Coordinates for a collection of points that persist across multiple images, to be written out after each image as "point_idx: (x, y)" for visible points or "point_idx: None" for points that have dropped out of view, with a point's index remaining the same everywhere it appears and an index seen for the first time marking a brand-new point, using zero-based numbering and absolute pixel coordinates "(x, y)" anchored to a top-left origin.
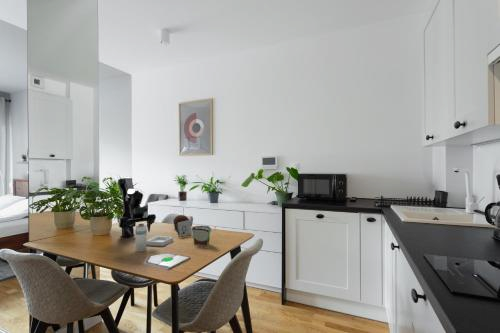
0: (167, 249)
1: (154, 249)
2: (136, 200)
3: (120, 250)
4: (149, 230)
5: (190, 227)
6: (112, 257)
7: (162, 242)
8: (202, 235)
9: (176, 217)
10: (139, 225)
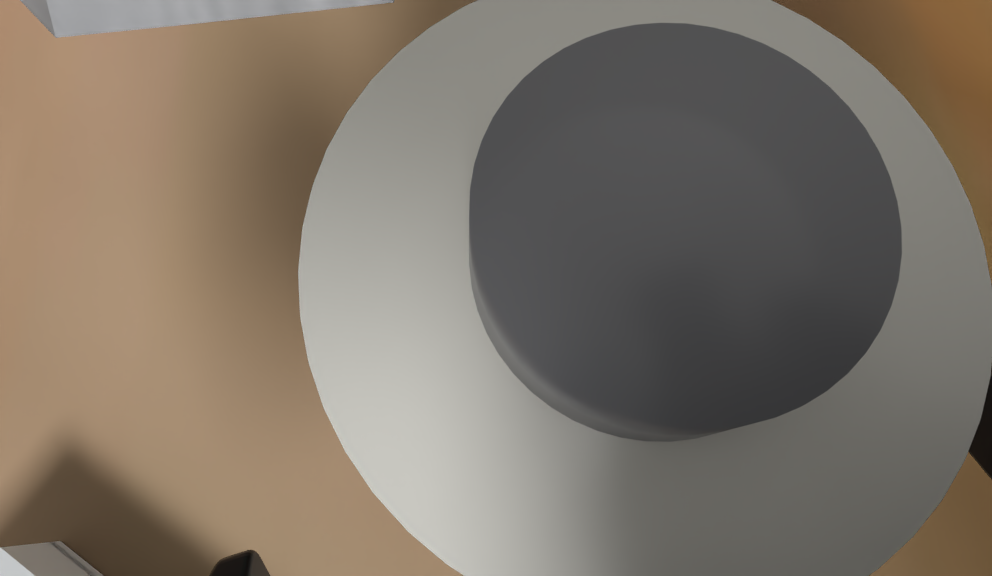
0: (6, 272)
1: (257, 366)
2: None
3: (953, 550)
4: (222, 572)
5: None
6: (962, 163)
7: (3, 549)
8: None
9: None
10: (763, 75)
